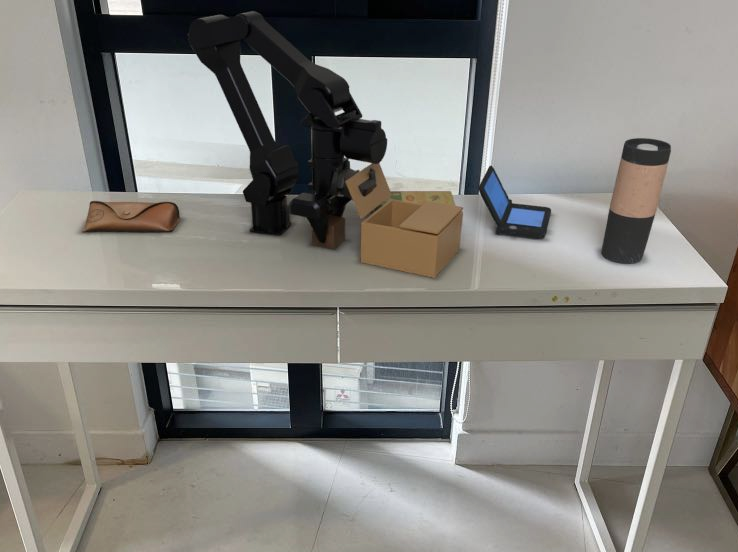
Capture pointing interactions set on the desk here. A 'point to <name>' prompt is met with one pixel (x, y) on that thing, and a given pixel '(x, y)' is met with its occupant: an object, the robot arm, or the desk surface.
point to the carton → (420, 197)
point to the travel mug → (635, 199)
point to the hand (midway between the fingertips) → (328, 237)
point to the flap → (373, 198)
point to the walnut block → (332, 233)
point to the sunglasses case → (132, 216)
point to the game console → (512, 210)
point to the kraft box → (412, 236)
